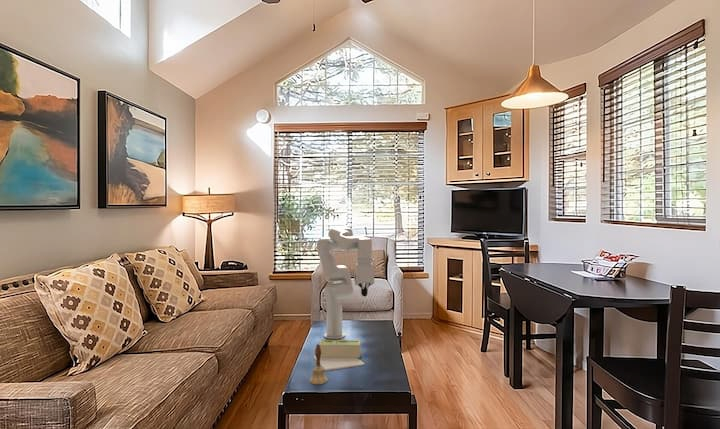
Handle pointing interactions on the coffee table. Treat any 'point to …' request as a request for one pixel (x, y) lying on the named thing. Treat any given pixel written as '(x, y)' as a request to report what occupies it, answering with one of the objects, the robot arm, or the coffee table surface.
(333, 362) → the sheet of paper
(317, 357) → the hand bell
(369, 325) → the coffee table surface
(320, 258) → the robot arm
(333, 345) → the toy refrigerator
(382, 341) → the coffee table surface
